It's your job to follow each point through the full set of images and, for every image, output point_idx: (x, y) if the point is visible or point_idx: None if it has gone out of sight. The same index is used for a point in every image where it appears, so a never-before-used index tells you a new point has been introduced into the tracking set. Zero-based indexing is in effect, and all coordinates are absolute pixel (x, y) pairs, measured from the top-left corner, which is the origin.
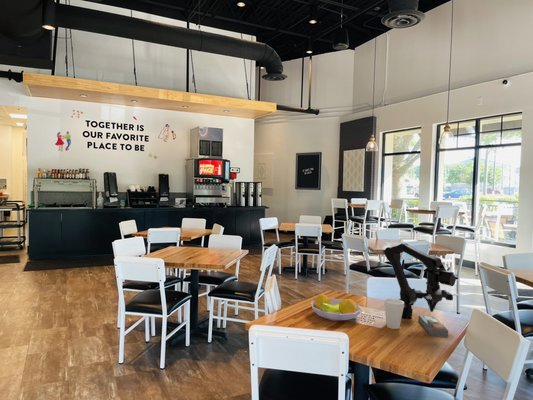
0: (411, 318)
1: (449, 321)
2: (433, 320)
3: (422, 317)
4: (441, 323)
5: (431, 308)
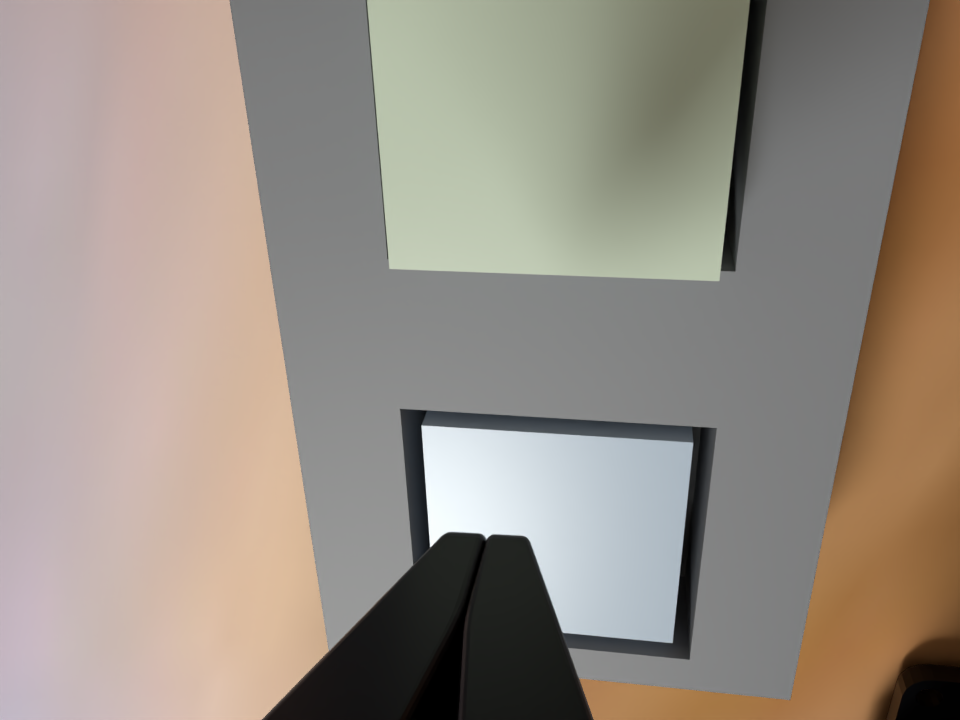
0: (926, 665)
1: (21, 591)
2: (529, 104)
3: (765, 527)
4: (235, 26)
5: (503, 653)
